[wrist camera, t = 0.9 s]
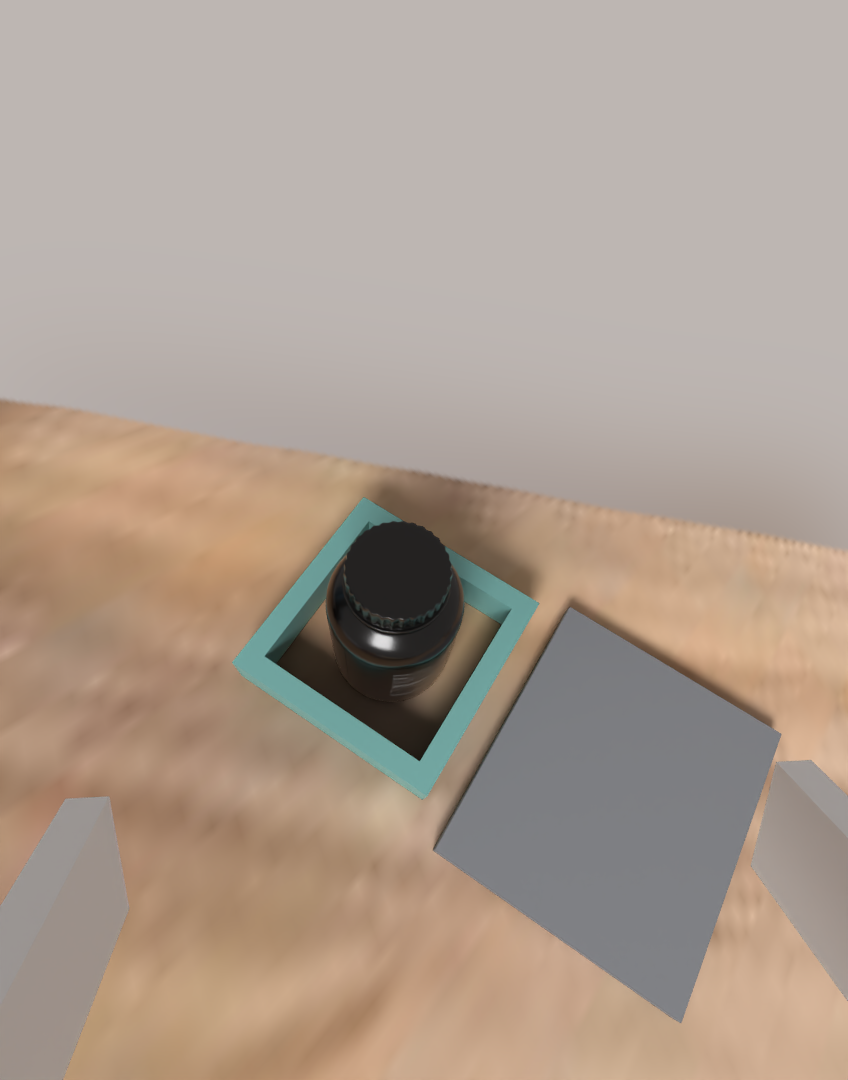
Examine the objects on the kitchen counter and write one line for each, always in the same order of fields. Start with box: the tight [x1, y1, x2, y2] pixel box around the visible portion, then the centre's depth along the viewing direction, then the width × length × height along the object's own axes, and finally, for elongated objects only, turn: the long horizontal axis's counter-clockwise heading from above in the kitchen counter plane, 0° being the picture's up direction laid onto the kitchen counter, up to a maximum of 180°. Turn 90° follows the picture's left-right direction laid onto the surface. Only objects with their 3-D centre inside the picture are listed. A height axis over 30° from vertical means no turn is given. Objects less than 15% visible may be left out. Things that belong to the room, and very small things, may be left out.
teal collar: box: [232, 497, 539, 799], centre depth 37 cm, size 12×12×3 cm
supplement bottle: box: [326, 521, 464, 702], centre depth 33 cm, size 7×7×12 cm
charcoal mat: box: [433, 607, 781, 1023], centre depth 35 cm, size 14×16×1 cm
